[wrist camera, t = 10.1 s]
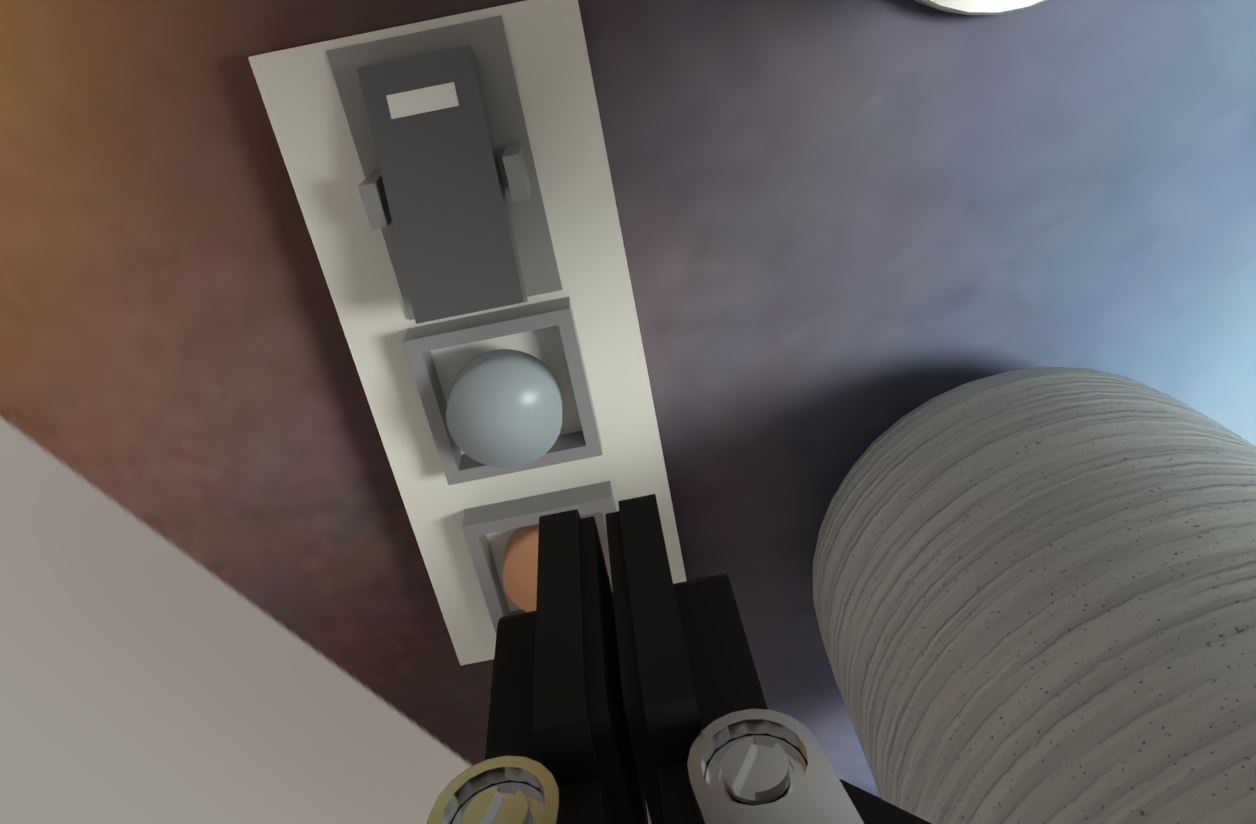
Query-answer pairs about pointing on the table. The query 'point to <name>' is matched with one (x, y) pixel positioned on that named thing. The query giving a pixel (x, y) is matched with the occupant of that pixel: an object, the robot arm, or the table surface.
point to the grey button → (505, 408)
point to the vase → (1049, 605)
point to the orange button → (522, 567)
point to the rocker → (443, 183)
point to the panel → (437, 350)
